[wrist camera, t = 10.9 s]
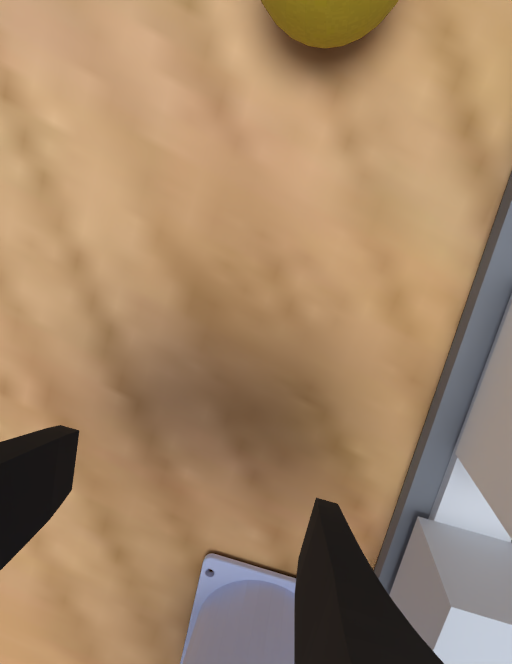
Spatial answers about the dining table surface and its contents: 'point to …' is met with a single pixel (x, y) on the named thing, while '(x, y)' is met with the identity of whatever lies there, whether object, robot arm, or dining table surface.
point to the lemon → (328, 19)
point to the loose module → (493, 431)
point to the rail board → (457, 494)
